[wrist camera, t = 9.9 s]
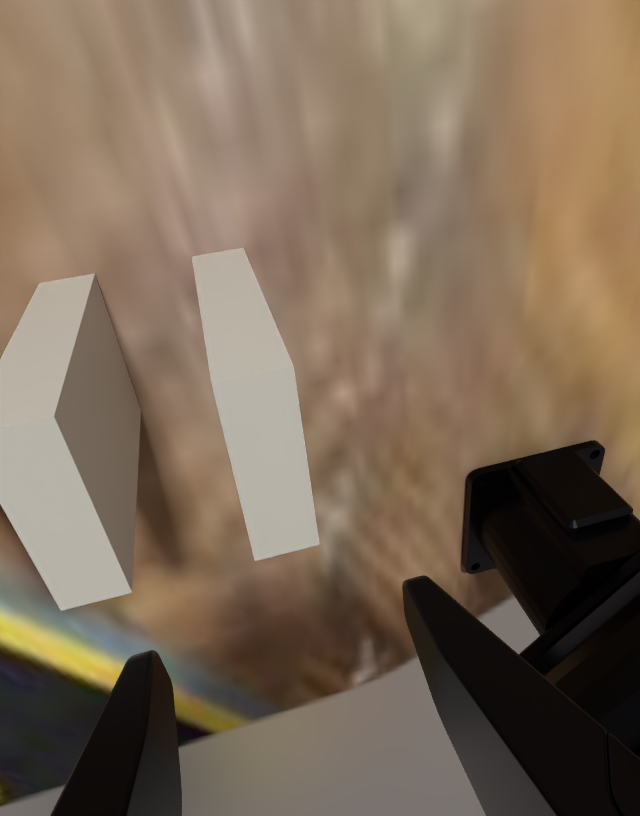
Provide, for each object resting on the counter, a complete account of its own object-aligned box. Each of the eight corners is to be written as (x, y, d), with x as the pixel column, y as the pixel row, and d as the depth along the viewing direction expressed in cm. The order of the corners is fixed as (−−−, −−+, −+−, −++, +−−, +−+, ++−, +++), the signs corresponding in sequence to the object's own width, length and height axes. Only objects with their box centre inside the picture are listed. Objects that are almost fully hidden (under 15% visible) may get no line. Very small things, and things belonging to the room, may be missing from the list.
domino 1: (141, 411, 20) (131, 592, 13) (94, 420, 19) (61, 610, 13) (94, 273, 17) (53, 416, 10) (39, 283, 17) (-40, 436, 10)
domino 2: (267, 384, 20) (319, 544, 14) (223, 393, 20) (255, 561, 13) (243, 247, 17) (293, 366, 11) (191, 256, 17) (211, 383, 11)
